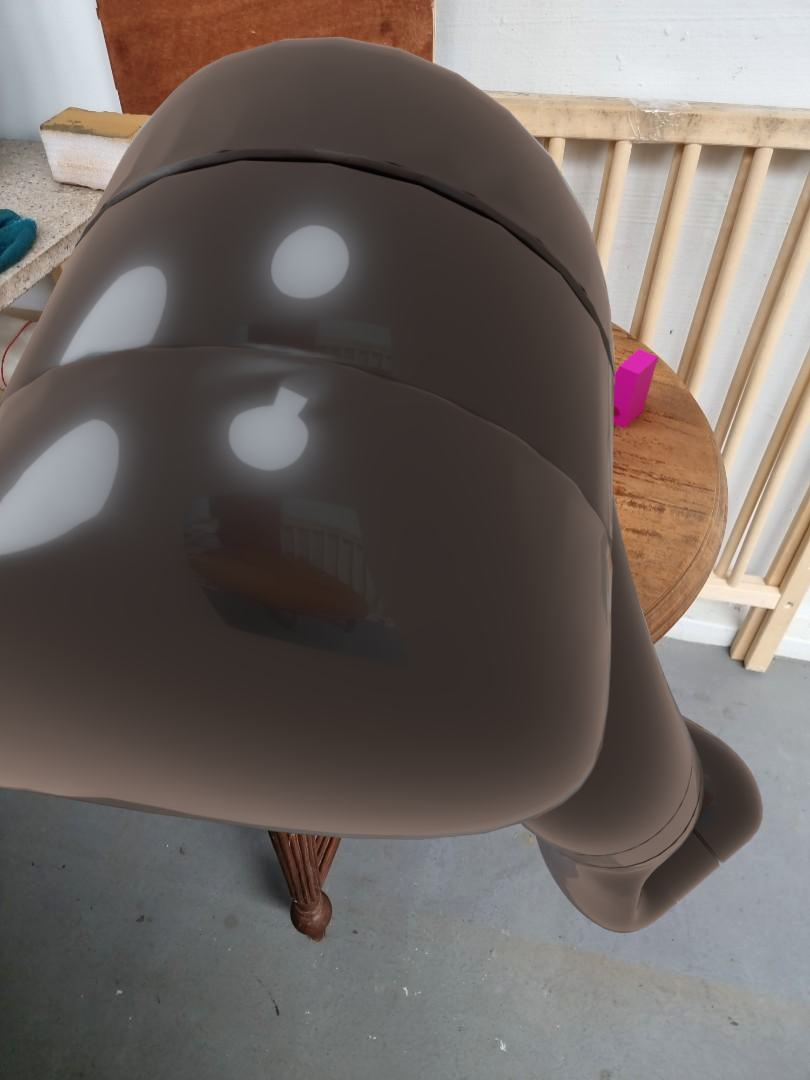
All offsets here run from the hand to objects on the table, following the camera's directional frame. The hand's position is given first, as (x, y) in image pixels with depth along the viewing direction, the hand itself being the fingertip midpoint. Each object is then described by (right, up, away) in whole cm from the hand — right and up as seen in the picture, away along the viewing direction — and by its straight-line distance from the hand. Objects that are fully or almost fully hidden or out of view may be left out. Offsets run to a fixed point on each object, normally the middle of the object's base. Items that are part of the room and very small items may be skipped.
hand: (318, 440), depth 56 cm
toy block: (+23, +7, +24) cm, 34 cm away
